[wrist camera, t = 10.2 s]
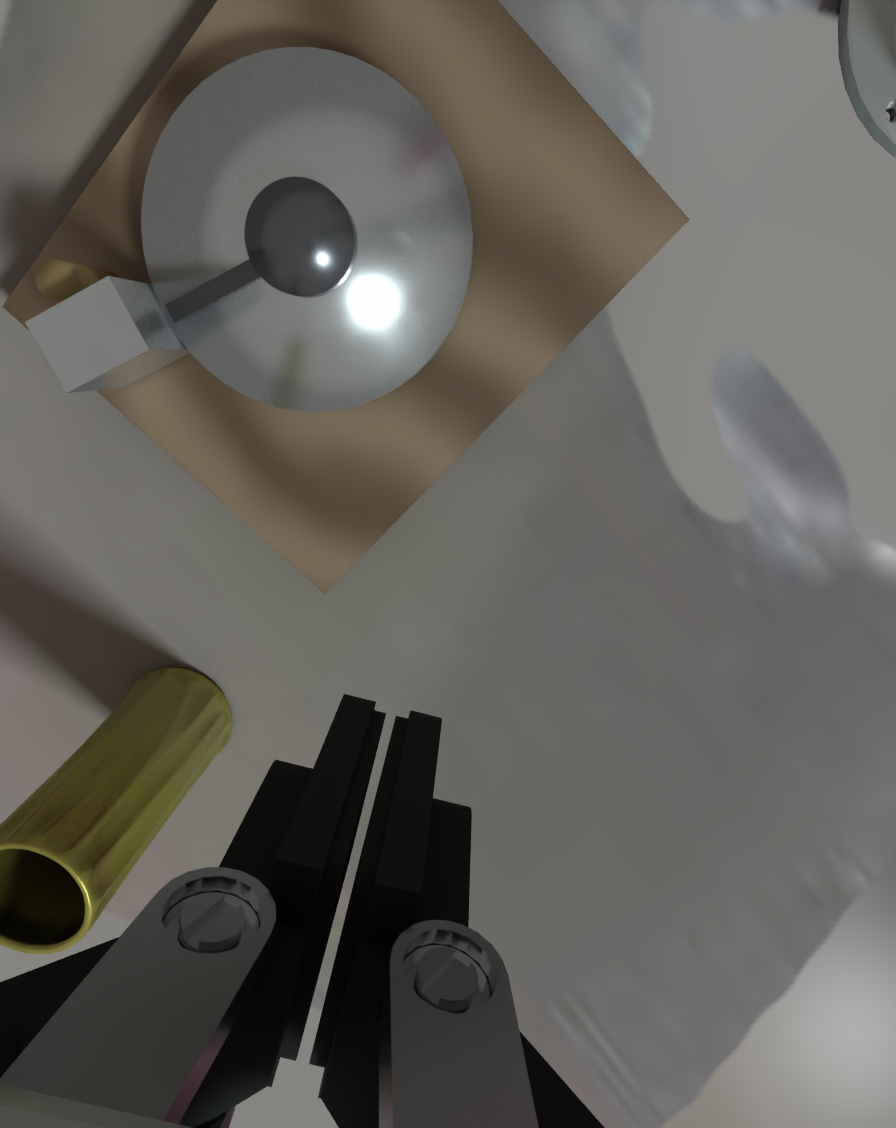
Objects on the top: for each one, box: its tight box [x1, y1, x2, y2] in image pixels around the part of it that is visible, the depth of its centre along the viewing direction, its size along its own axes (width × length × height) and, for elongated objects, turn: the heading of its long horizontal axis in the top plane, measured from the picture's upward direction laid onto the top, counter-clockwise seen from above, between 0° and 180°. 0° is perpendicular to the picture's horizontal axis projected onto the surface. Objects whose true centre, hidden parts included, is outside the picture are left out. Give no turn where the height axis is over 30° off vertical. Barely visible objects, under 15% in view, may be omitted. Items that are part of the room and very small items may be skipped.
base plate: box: [2, 0, 689, 594], centre depth 30 cm, size 24×20×6 cm
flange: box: [25, 47, 473, 412], centre depth 29 cm, size 18×14×5 cm
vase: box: [0, 667, 232, 954], centre depth 33 cm, size 6×6×14 cm
